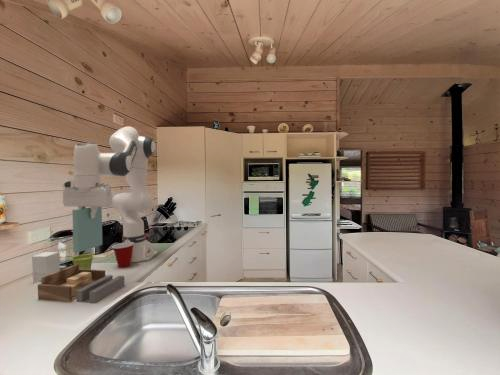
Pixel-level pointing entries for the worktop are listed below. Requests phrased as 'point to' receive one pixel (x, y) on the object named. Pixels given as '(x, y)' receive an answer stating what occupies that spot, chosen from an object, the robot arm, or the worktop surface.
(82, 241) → the tall sheet
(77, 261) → the plant pot
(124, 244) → the plastic cup
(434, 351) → the worktop surface
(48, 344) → the worktop surface
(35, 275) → the supplement box
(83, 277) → the offcut stack
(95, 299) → the sheet stand
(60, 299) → the open wooden tray
